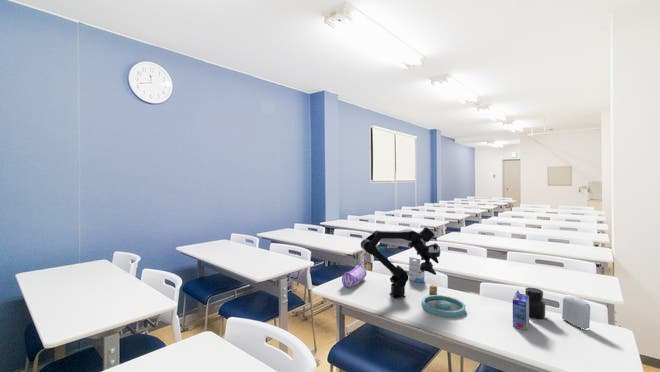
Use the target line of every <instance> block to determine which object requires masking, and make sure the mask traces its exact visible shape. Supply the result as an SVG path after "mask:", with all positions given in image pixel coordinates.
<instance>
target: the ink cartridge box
mask: <svg viewBox="0 0 660 372" xmlns="http://www.w3.org/2000/svg"><path fill="white" fill-rule="evenodd" d="M529 324H530V317H529V296H528V295H525V294H523V293H520V291H519V290H518V289H517V291H516V292H515V294H514V296H513V298H512V327H513V328H518V329H521V330H523V331H527V330H528V327H529Z"/></svg>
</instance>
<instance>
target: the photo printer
mask: <svg viewBox="0 0 660 372" xmlns="http://www.w3.org/2000/svg"><path fill="white" fill-rule="evenodd" d="M561 313H562V314H561V315H562V316H561V318H562V320H563V319H564V320H566V321H568V322H570V323H572V324H574V325H576V326H578V327H580V328H582V329H581V330H583V328H584V329H587V328H589V329H590V325H591V323H590V322H591V321H590V320H591V305H590V304H589V303H588V302H587V301H586V300H584V299H582V298H581V297H578V296H575V295H571V294H565V295H564V296H563V297H562V312H561ZM564 320H563V321H564ZM566 321H565V322H566ZM568 322H567V323H568ZM570 323H569V324H570ZM572 324H571V325H572ZM574 325H573V326H574ZM576 326H575V327H576ZM578 327H577V328H578ZM580 328H579V329H580Z"/></svg>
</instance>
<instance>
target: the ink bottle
mask: <svg viewBox="0 0 660 372" xmlns="http://www.w3.org/2000/svg"><path fill="white" fill-rule="evenodd" d="M524 295H528V296H529V318H531V317H532V318H531V319H535V318H536V319H537V320H543V318H544V319H545V318H546V303H545V302H544V300H543V299H544V291H543V290H542V289H539V288H536V287H526V288H525V294H524Z"/></svg>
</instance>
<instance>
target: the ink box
mask: <svg viewBox="0 0 660 372" xmlns="http://www.w3.org/2000/svg"><path fill="white" fill-rule="evenodd" d="M408 259H409V260H408V262H409V263H408V280H409V281H412V282H415V283H418V284H421V283H424V282H425V271H424V272H422V271H421V270H420V266H421V263H423V262H421V258H420V259H419V258H417V257H416V258H415V257H412V256H409V258H408Z"/></svg>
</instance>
